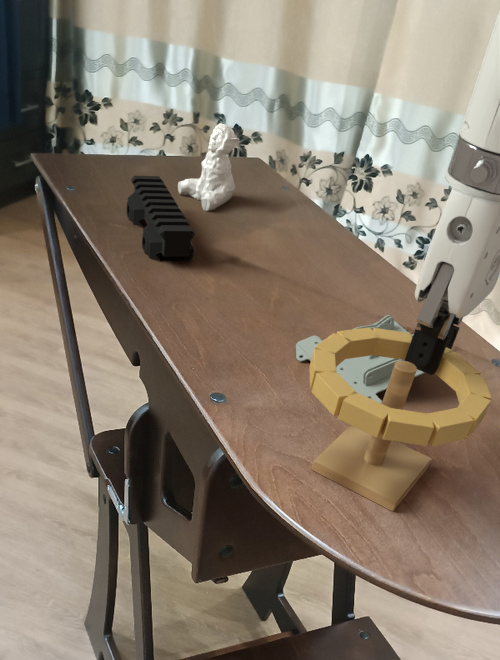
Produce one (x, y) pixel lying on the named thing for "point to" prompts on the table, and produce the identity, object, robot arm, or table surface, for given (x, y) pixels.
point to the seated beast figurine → (214, 171)
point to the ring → (390, 420)
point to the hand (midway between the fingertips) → (425, 362)
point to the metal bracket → (361, 363)
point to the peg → (376, 453)
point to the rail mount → (159, 219)
